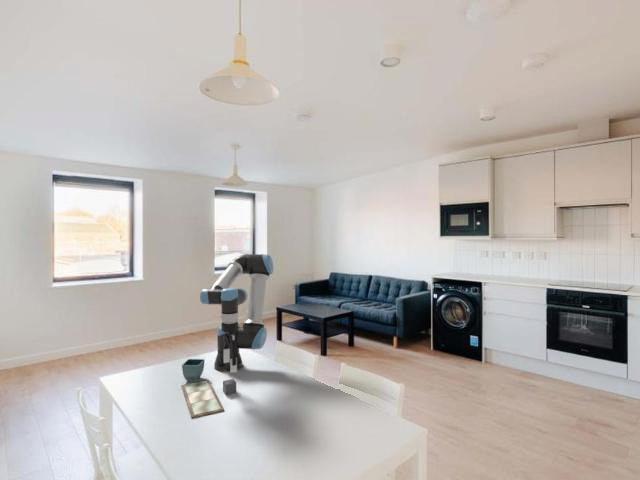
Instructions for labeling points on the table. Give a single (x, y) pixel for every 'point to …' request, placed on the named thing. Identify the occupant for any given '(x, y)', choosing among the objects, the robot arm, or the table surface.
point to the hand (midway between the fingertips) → (230, 367)
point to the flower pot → (193, 369)
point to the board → (201, 399)
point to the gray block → (229, 387)
